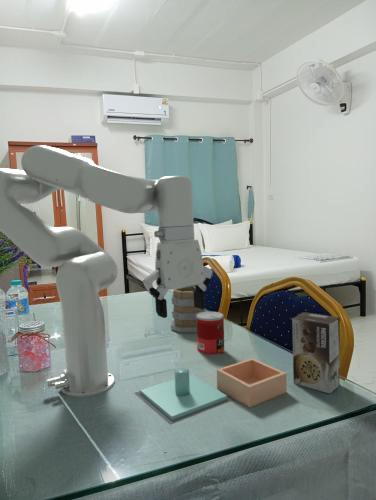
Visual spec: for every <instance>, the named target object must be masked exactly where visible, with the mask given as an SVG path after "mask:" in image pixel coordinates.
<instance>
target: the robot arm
mask: <svg viewBox="0 0 376 500" xmlns="http://www.w3.org/2000/svg"><path fill="white" fill-rule="evenodd" d="M20 160H21V161H20V164H21V167H22V169H16V168H15V169H14V168H6V167H0V232H1V233H2V234H3V235H4V236H5V237H7V238H8V239H9V240H10V241H11V242H12V243H13V244H14V245H15V246H17V248H19V249H20V250H21V251H22V252H24V253H25V254H26V255H27V256H28V257H29V258H30V259H31V260H32V261H34V262H35V263H36V264H37V265H39V266H40V267H42V268H46V269H49V268H56V267H59V268H58V270H57V272H56V275H55V284H56V285H55V286H56V290H57V293H58V298H59V302H60V306H61V315H62V324H63V326H62V328H63V335H64V336H63V338H64V340H63V341H64V352H65V366H66V367H65V369H63V370H62V373H61V374H59V375H58V376H57V377H51V378H47V379H45V384H46V388H51V387H54V389H55V390H58V389H60V390H61V392H62V393H63V394H64V395H66V396H68V397H75V398H85V397H92V396H95V395H99V394H102V393H104V392H106V391H108V390H110V389H111V388H112V387H114V385H115V377H114V375H113V374H112V373H110V372H108V355H107V339H106V338H107V337H106V323H105V311H104V306H103V303H102V301H101V298H100V295H99V292H101V291H103V290H105V289H108V288H109V287H111V286H112V285H113V284H114V283H115V281H116V280H117V278H118V274H119V273H118V271H119V269H118V265H117V263H116V261H115V260H114V258H113V257H112V256H111V255H110V254H109V253H108V252H107V251H106V250H104V249H103V248H102V247H101V246H100V245H98V244H97V243H96V242H95V241H94V240H93V239H92V238H90V237H89V236H88V235H86V233H84V232H83V231H81V230H80V229H77V228H75V227H72V226H58V227H57V226H53V225H52V226H51V225H50V224H48V223H47V222H46V221H44V219H42V218H41V217H40V216H38V215H37V213H35V212H33V210H31V209H29V208H27V207H25V206H23V205H24V204H25V205H26V204H27V205H30V204H35V203H37V202H40V201H42V200H43V199H45V198H47V197H49V196H50V195H52V194H53V193H55V192H57V191H59V190H62V191H66V192H67V193H71V194H75V195H77V196H79V197H81V198H83V199H84V200H86V201H89V202H90V203H93V204H96V205H98V206H102V207H103V208H104V207H105V208H107V209H111V210H114V211H117V212H119V213H120V212H121V213H124V214H146V213H147V214H149V213H153V212H156V211H157V216H158V217H157V219H158V227H157V228H158V230H155V231H154V233H153V234H154V237H155V238H158V242H157V244H156V251H155V265H154V267H155V268H154V271H152V273H150V274H149V275H148V276H147V277H145V278H144V279H143V280H142V284H143V286H144V287H145V289H146V291H147V292H148V293H149V295H151V296H152V297H153V298H154V300H155V311H156V314H157V317H160V318H162V319H166V318H167V317H168V308H167V307H168V306H167V304H168V303H167V299H166V298H165V297H166V295H167V293H168V291H169V290H170V291H173V290H174V289H180V288H186V287H191V286H194V287H195V288H196V290H194V307H196V308H199V309H204V308H205V304H206V303H205V302H206V297H205V292H206V291H207V289H208V288H207V287H208V285H209V284H210V283H211V278H212V275H213V273H214V271H213V269H211V268H210V267H207V266H205V265H204V261H203V255H202V251H201V246H200V242H199V240H198V239H196V238H195V226H194V224H195V223H194V222H195V221H194V205H193V204H194V203H193V202H194V201H193V187H192V181H191V179H190V178H189V177H188V176H186V175H168V176H163V177H160V178H158V179H149V178H144V177H138V176H131V175H127V174H124V173H121V172H117V171H113V170H110V169H107V168H104V167H101V166H99V165H97V164H96V163H95V161H94V160H92V159H90V158H87V157H83V156H80V155H77V154H73V153H71V152H69V151H67V150H64V149H61V148H57V147H52V146H49V145H43V144H42V145H41V144H40V145H33V146H30V147H28V148H27V149H26V150H25V151H24V152H23V154H22V156H21V159H20ZM154 282H156V286H157V287H156V288H155V287H154V285H153V283H154Z"/></svg>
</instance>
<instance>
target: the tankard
mask: <svg viewBox="0 0 376 500" xmlns="http://www.w3.org/2000/svg"><path fill="white" fill-rule="evenodd" d="M194 290H196V288H195V287H194V286H191V287H186V288H180V289H174V290H172V296H171V305H173V308H172V312H171V314H172V319H173V320H171V324H170V330H171V331H173V332H176V331H177V333H180V334H194V332H197V324H196V316H197V314H199V313H201V312H207V311H206V310H205V308H204V309H199V308H196V307H194Z"/></svg>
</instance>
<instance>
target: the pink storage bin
mask: <svg viewBox="0 0 376 500" xmlns="http://www.w3.org/2000/svg"><path fill="white" fill-rule="evenodd" d="M216 389H217V390H219V391H220V392H222V393H224V394H225V395H227V396H229V397H230V398H232V399H235V400H236V401H237V402H239V403H241V404H243V405H245V406H246V407H248V408H249V409H250V408H252V407H255V406H258V405H259V404H261V403H264V402H266V401H269V400H271V399H275V398H276V397H279V396H281V395H284V394H286V393H287V372H284V371H282V370H280V369H278V368H276V367H274V366H271V365H269V364H267V363H264V362H261V361H259V360H257V359H255V358H253V357H252V358H248V359H246V360H242V361H239V362H236V363H233V364H230V365H227V366H223V367H220V368H217V369H216Z"/></svg>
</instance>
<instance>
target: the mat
mask: <svg viewBox="0 0 376 500" xmlns="http://www.w3.org/2000/svg"><path fill="white" fill-rule="evenodd" d="M204 382H205V381H204ZM205 383H207V382H205ZM134 395H136V397H138V398H139V399H140V400H142V401H143V402H144V404H146V405H147V406H148V407H150V408H151V409H152V410H153V411H154V412H156V414H158V415H159V416H160V417H161V418H162V419H163V420H165V421H166V423H168V424H169V425H173V424H175V423H178V422H180V421H183V420H185V419H189V418H190V417H191V418H192V417H193V416H196V415H198V414H201V413H203V412H206V411H208V410H211V409H214V408H216V407H219V406H221V405H224V404H227V403H229V402H231V401H234V398H233V397H231V396H229V395H227V399H226V400H224V401H221V402H219V403H216V404H213V405H211V406H208V407H205V408H203V409H200V410H198V411H195V412H192V413H190V414H187V415H185V416H182V417H179V418H177V419H174V420H171V419H170V418H169V417H168V416H166V415H165V414H164V413H163V412H162V411H160V410H159V409H158V408H157V407H156V406H155V405H153V404H152V403H151V402H150V401H149V400H148V399H146V398H145V397H144V396H143V395H142V394H140V390H138V391H137V392H134Z"/></svg>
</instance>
